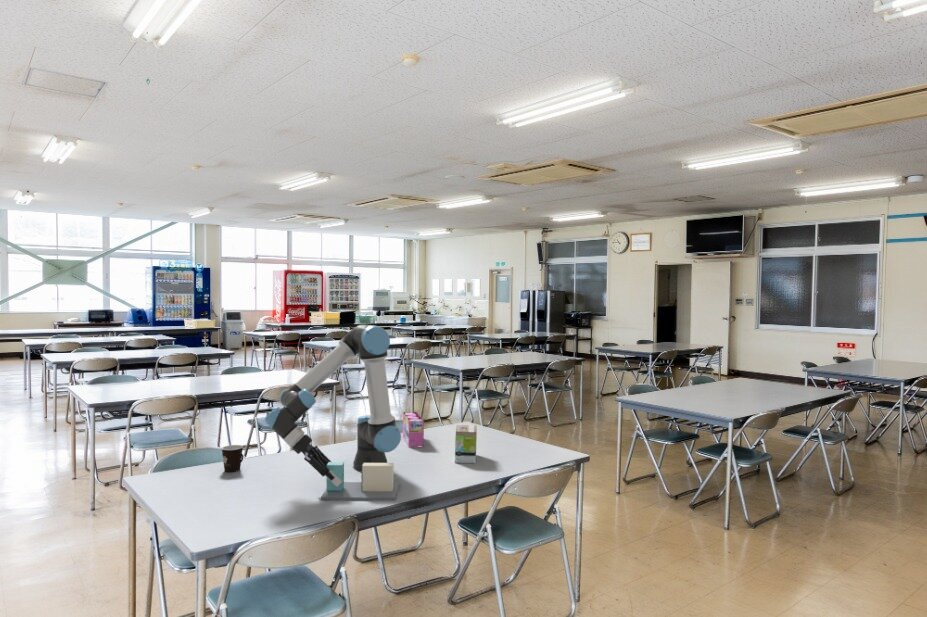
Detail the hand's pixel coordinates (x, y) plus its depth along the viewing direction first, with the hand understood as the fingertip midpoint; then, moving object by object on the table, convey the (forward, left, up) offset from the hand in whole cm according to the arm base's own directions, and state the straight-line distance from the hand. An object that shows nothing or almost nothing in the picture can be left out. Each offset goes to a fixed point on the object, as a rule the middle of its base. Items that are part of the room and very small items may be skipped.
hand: (340, 482), depth 232 cm
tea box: (+2, +69, -4) cm, 69 cm away
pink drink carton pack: (-40, +72, -4) cm, 82 cm away
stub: (-2, -2, -3) cm, 3 cm away
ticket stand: (+6, +6, -4) cm, 9 cm away
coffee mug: (-55, -18, -4) cm, 58 cm away
